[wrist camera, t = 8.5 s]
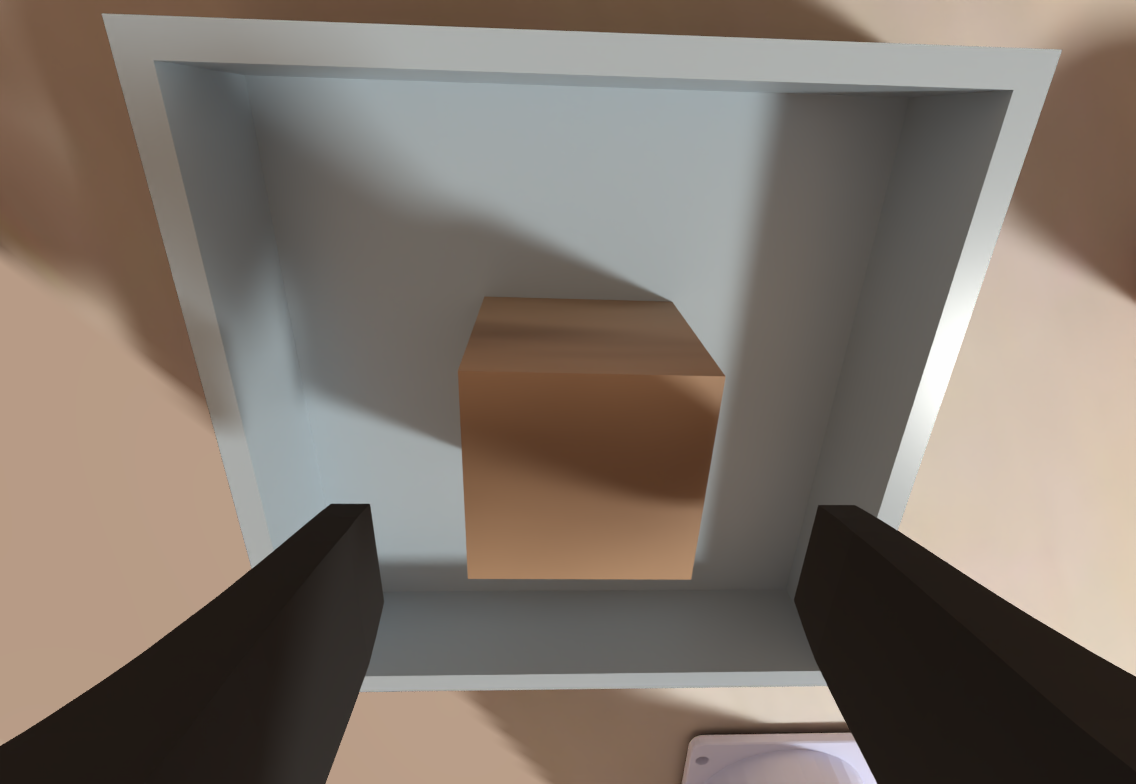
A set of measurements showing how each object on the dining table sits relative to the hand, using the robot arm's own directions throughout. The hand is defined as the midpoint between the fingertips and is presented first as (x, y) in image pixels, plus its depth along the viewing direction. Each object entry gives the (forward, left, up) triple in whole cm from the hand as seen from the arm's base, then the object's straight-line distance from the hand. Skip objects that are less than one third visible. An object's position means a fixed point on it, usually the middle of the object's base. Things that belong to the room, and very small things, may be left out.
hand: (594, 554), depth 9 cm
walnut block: (0, 0, -6) cm, 6 cm away
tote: (0, 0, -7) cm, 7 cm away
